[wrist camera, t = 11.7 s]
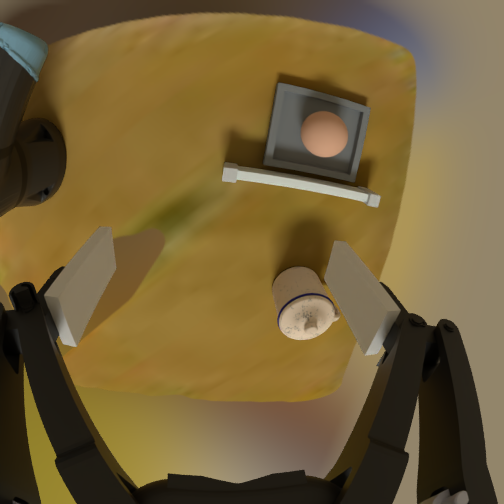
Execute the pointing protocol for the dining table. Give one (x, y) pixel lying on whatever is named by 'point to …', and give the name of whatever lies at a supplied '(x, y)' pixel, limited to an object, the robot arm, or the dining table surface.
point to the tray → (289, 132)
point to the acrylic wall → (299, 183)
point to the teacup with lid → (302, 304)
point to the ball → (324, 134)
